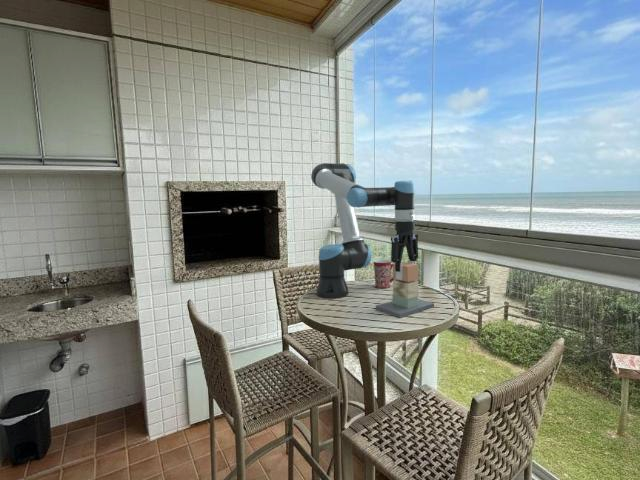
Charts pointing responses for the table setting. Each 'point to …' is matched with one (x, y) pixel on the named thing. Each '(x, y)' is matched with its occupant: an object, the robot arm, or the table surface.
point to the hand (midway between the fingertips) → (405, 277)
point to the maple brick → (405, 288)
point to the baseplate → (403, 310)
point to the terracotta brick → (408, 272)
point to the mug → (382, 273)
